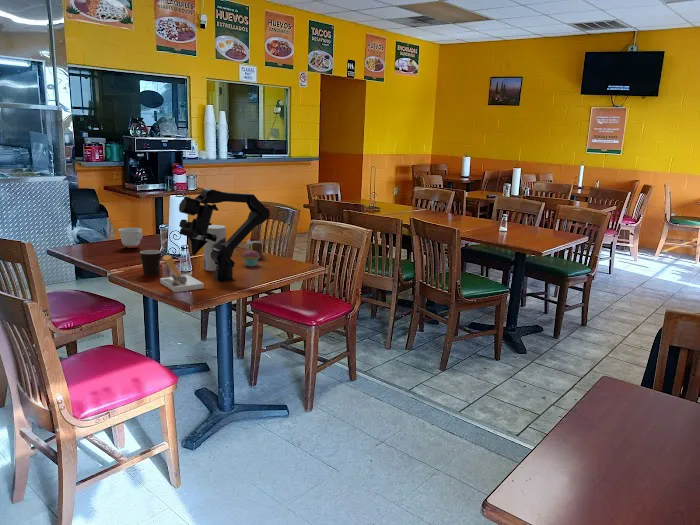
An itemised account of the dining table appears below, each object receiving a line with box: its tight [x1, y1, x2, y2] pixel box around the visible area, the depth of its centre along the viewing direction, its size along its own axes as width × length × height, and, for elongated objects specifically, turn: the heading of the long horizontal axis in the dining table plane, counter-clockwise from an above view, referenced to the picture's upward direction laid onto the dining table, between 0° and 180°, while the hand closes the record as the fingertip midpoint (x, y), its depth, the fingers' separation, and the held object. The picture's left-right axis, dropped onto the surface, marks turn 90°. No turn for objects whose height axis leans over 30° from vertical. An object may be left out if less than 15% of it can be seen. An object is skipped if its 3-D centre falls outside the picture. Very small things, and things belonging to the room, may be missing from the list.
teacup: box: [117, 226, 144, 247], centre depth 293 cm, size 12×15×10 cm
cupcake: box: [241, 243, 261, 267], centre depth 267 cm, size 9×8×12 cm
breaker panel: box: [159, 273, 205, 293], centre depth 228 cm, size 12×16×5 cm
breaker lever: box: [161, 254, 182, 280], centre depth 225 cm, size 2×5×11 cm, turn 38°
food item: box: [245, 236, 263, 259], centre depth 288 cm, size 14×8×10 cm, turn 20°
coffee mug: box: [139, 249, 162, 277], centre depth 245 cm, size 12×9×10 cm
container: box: [203, 224, 227, 272], centre depth 256 cm, size 10×10×20 cm
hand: (193, 254), depth 229 cm, fingers closed
